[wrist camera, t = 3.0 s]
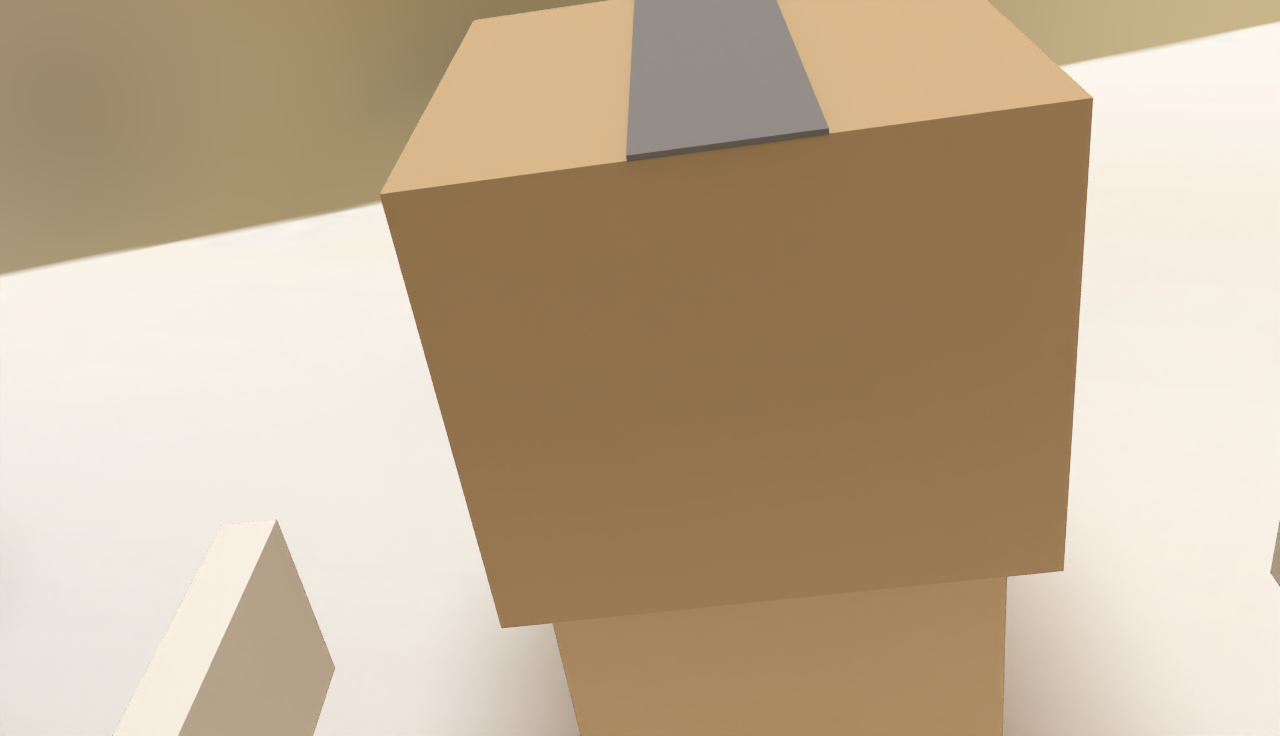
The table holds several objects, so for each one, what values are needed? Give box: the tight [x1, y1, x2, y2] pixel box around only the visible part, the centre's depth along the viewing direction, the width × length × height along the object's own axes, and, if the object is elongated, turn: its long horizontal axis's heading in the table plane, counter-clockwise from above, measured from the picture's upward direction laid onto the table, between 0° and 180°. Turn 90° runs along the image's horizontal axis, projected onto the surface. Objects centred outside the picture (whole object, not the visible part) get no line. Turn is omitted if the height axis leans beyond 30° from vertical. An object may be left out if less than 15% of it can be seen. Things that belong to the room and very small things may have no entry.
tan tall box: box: [553, 577, 1007, 736], centre depth 26 cm, size 9×9×16 cm
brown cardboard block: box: [380, 0, 1093, 628], centre depth 23 cm, size 11×11×9 cm
